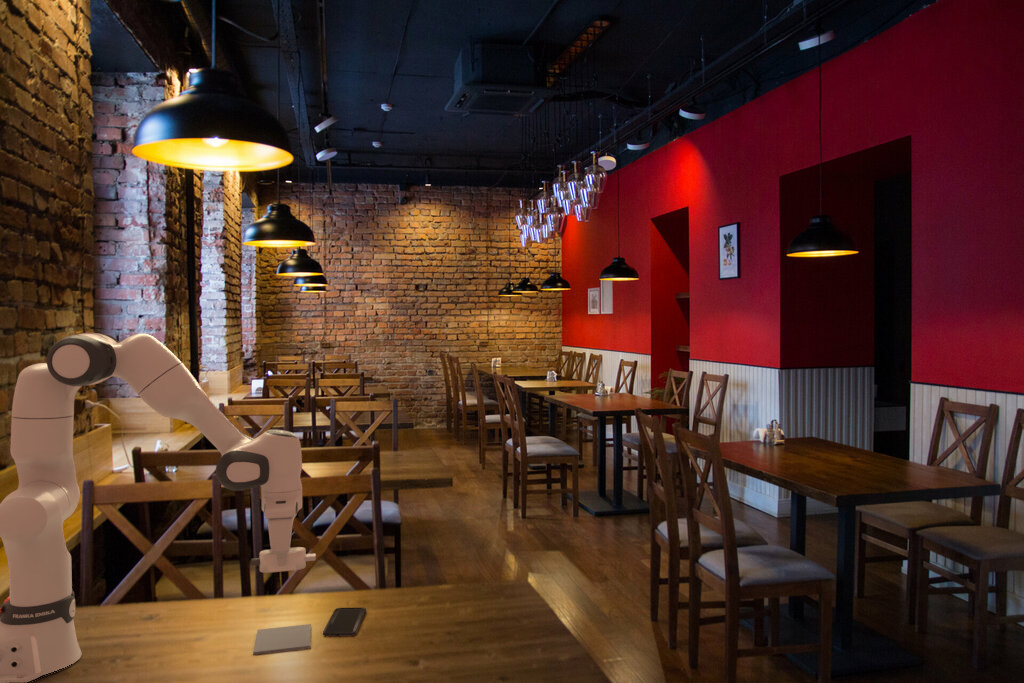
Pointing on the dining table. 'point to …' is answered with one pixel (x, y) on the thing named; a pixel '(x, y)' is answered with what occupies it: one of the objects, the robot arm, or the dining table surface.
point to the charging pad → (282, 639)
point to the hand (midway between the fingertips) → (282, 561)
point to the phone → (344, 622)
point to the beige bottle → (293, 560)
